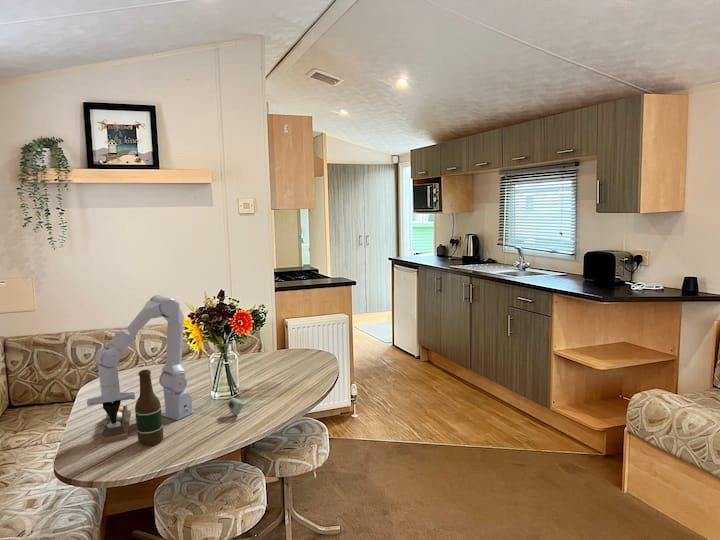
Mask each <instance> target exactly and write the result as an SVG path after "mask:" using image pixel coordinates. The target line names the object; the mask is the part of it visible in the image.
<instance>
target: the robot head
mask: <svg viewBox="0 0 720 540" xmlns="http://www.w3.org/2000/svg"><path fill="white" fill-rule="evenodd" d="M226 405H227V407H228V410H229V411H230V413H231V414H232V415H233V416H238V415H240V413H241V410H242V409H243V408H244V407H245V405H246V403H245V402H243V401H242V400H240V399H238V398H237V397H232V398H230V399H229V400H226Z"/></svg>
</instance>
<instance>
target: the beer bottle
mask: <svg viewBox="0 0 720 540" xmlns="http://www.w3.org/2000/svg"><path fill="white" fill-rule="evenodd" d="M151 374H152V371H151V370H149V369H142V370H139V372H138V375H137V376H139V397H138V398H137V400H136V402H135V408H134V409H135V411H134V412H135V421H136V432H137V434H136V435H137V440H138V443H139V445H140V446H142V447H152V446H156V445H159V444H160V443H162V441H163V439H164V425H163V416H162V413H163V412H162V405H161V401H160V399H159V398H158V396H157V395H156V394H155V393H154V388H153V384H152V379H151V378H152V376H151Z"/></svg>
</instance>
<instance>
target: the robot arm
mask: <svg viewBox="0 0 720 540" xmlns="http://www.w3.org/2000/svg"><path fill="white" fill-rule="evenodd" d="M184 317H185V316H184V314H183V312H182V310H181V307H180V302H179V301H177V300H176V299H175V298H173V297H168V296H164V295H163V296H162V295H160V294H155V295H153V296H152V297H150V299H149V300H148V301H146V302H145V304H144V306H143V308H142V309H141V311H140V312H139V313H138V314H137V315H136V317H135V318H134V319H133V320H132V321H131V322H130V323H129V325H128V326H127V327H126V328H125V329H120V330H119V331H116V332H115V333H114V334H113V335H114V336H113V337H112V338H111V339H110V340H109V341H108V342H107V343H105V345H103V346H104V347H102V348H99V349H98V350H97V351H96V353H95V355H94V357H93V361H94V362H95V363H96V364H97V366H98V377H99V385H100V387H99V388H100V394H101V395H99V396H96V397H92V398H87V400H86V404H87V405H86V407H92V406H95V405H102V409H103V410H104V412H105V413H106V415H107V414H108V416H109V418H110V420H111V423H112V424H115V423H116V422H117V412H118V409H119V406H120V405H121V402H122V401H127V400H136V392H135V391H133V392H121V388H120V387H121V386H120V379H119V370H118V364H119V363H120V359H121V356H122V354H123V353H125V351H126V350H127V349H128V348H129V347H130V346H131V345H132V344H133V343H134V341H135V335H136V334H137V333H138V332H139V331H140V330H141V329H143V328H144V326H145V325H147V323H148V322H149V321H151V320H152V319H158V318H163V319H164V320H166V321H167V331H166V332H167V333H166V349H165V350H166V351H165V352H166V355H165V357H166V358H165V364H164V365H163V366H162V368H161V373H160V376H159V379H158V381H159V384H160V386H161V387H162V388H163V390H162V391H163V399H164V412H161V413H162V417H165V418H168V419H171V420H175V421H178V420H179V421H180V419H183V418H185V417H187V416H189V415H192V414H194V413H195V410H193V403H192V396H191V394H190V393H188V392H187V391H186V390H185V389H186V388H187V385H188V379H187V377H186V370H185V368H184V366H183V365H182V364H183V362H182V361H183V360H182V359H183V345H184V344H183V341H184V337H183V336H184V319H185V318H184Z"/></svg>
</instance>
